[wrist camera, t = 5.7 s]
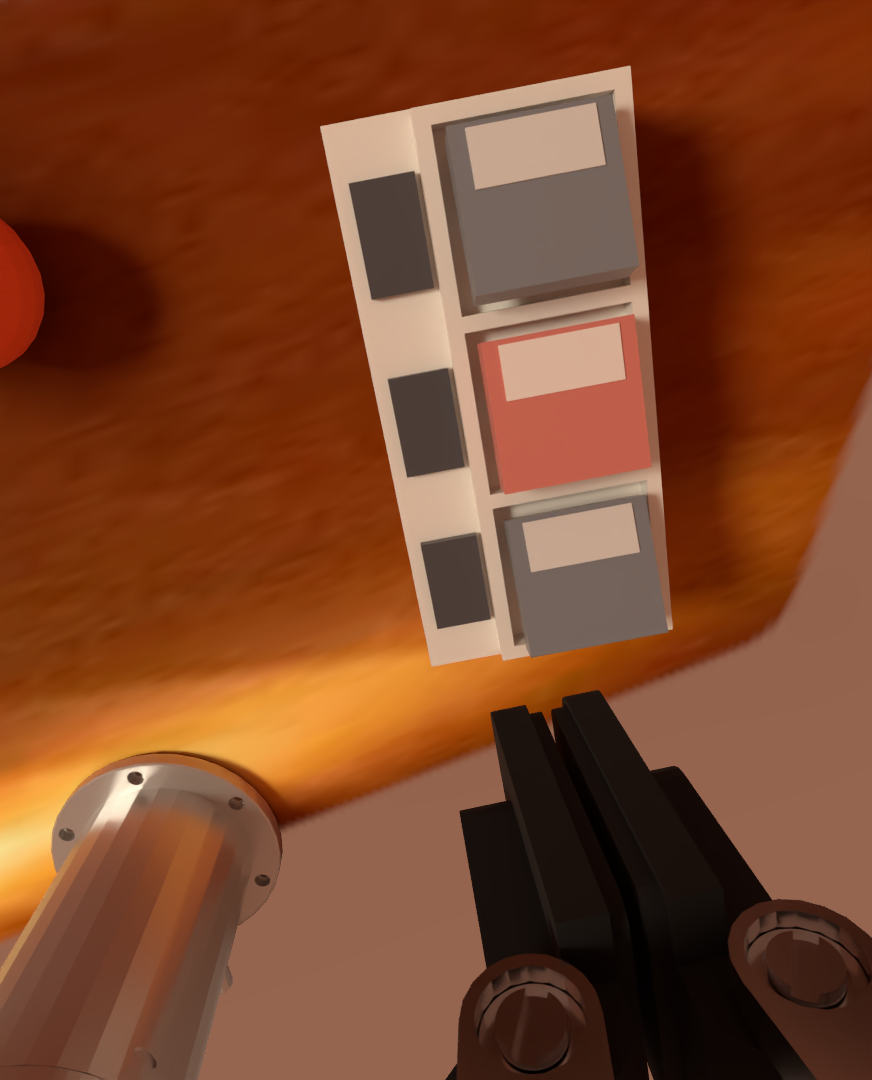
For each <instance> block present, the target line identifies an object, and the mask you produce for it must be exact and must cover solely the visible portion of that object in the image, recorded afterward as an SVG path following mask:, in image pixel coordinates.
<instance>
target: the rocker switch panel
mask: <svg viewBox="0 0 872 1080" xmlns="http://www.w3.org/2000/svg"><path fill="white" fill-rule="evenodd" d="M609 94H612V95H613V102H614V108H615V114H616V120H617V127H618V133H619V139H620V146H621V152H622V158H623V165H624V171H625V177H626V184H627V190H628V196H629V203H630V209H631V215H632V222H633V228H634V234H635V241H636V247H637V253H638V260H639V266H638V267H637V268H636V269H635V270H634V271H633V272H632V273H631V275H630V276H629V277H627V278H621V279H616V280H611V281H606V282H600V283H595V284H590V285H585V286H580V287H574V288H569V289H564V290H559V291H553V292H548V293H543V294H538V295H532V296H527V297H522V298H517V299H511V300H506V301H501V302H496V303H490V304H485V305H480V306H475V307H474V305H473V300H472V294H471V288H470V283H469V277H468V272H467V266H466V260H465V255H464V249H463V244H462V238H461V232H460V227H459V221H458V216H457V210H456V204H455V199H454V193H453V188H452V182H451V176H450V171H449V165H448V160H447V154H446V148H445V136H446V126H449V125H454V124H459V123H465V122H470V121H475V120H480V119H485V118H490V117H496V116H501V115H506V114H511V113H516V112H521V111H527V110H532V109H537V108H542V107H547V106H552V105H558V104H563V103H568V102H573V101H578V100H583V99H589V98H594V97H599V96H604V95H609ZM320 128H321V133H322V138H323V143H324V147H325V152H326V157H327V162H328V167H329V172H330V176H331V181H332V186H333V191H334V196H335V201H336V206H337V210H338V215H339V220H340V225H341V230H342V235H343V239H344V244H345V249H346V254H347V259H348V264H349V268H350V273H351V278H352V283H353V288H354V293H355V298H356V302H357V307H358V312H359V317H360V322H361V327H362V331H363V336H364V341H365V346H366V351H367V356H368V360H369V365H370V370H371V375H372V380H373V385H374V390H375V394H376V399H377V404H378V409H379V414H380V419H381V423H382V428H383V433H384V438H385V443H386V448H387V452H388V457H389V462H390V467H391V472H392V477H393V482H394V486H395V491H396V496H397V501H398V506H399V511H400V515H401V520H402V525H403V530H404V535H405V540H406V544H407V549H408V554H409V559H410V564H411V569H412V574H413V578H414V583H415V588H416V593H417V598H418V603H419V607H420V612H421V617H422V622H423V627H424V632H425V636H426V641H427V646H428V651H429V656H430V661H431V666H438V665H443V664H448V663H454V662H459V661H465V660H470V659H475V658H481V657H486V656H492V655H497V654H501V655H502V659H503V661H504V660H509V659H515V658H520V657H526V656H530V655H529V653H528V651H527V648H526V643H525V637H524V632H523V626H522V621H521V615H520V610H519V604H518V599H517V593H516V588H515V582H514V577H513V571H512V566H511V560H510V555H509V550H508V544H507V539H506V533H505V528H504V522H503V520H506V519H511V518H516V517H522V516H527V515H532V514H538V513H543V512H548V511H554V510H559V509H564V508H570V507H575V506H580V505H586V504H591V503H596V502H602V501H607V500H612V499H618V498H623V497H628V496H634V495H645V497H646V503H647V509H648V515H649V521H650V527H651V533H652V538H653V544H654V550H655V556H656V562H657V568H658V574H659V579H660V585H661V591H662V597H663V603H664V609H665V615H666V621H667V626H668V630H671V629H673V627H672V614H671V600H670V587H669V574H668V560H667V547H666V534H665V520H664V507H663V494H662V480H661V467H660V454H659V440H658V427H657V414H656V400H655V387H654V374H653V360H652V347H651V334H650V320H649V307H648V294H647V280H646V267H645V254H644V240H643V227H642V214H641V200H640V187H639V174H638V160H637V147H636V134H635V120H634V107H633V94H632V80H631V67H630V66H627V67H621V68H616V69H611V70H606V71H601V72H596V73H590V74H585V75H580V76H575V77H570V78H565V79H560V80H554V81H549V82H544V83H539V84H534V85H529V86H523V87H518V88H513V89H508V90H503V91H498V92H493V93H487V94H482V95H477V96H472V97H467V98H462V99H456V100H451V101H446V102H441V103H436V104H431V105H426V106H420V107H415V108H411V109H408V110H403V111H398V112H393V113H388V114H382V115H377V116H372V117H367V118H362V119H357V120H351V121H346V122H341V123H336V124H331V125H326V126H321V127H320ZM631 314H635V323H636V332H637V341H638V350H639V359H640V368H641V377H642V386H643V395H644V404H645V413H646V422H647V431H648V440H649V449H650V457H651V466H652V467H650V468H645V469H639V470H634V471H629V472H623V473H618V474H613V475H607V476H602V477H597V478H591V479H586V480H581V481H575V482H570V483H565V484H559V485H554V486H549V487H543V488H538V489H533V490H527V491H522V492H517V493H512V494H506V495H505V494H504V492H503V491H502V490H501V488H500V481H499V475H498V469H497V463H496V457H495V451H494V445H493V439H492V433H491V427H490V421H489V415H488V408H487V402H486V396H485V390H484V384H483V378H482V372H481V366H480V360H479V354H478V348H477V345H478V344H480V343H484V342H489V341H495V340H500V339H505V338H510V337H516V336H521V335H526V334H531V333H537V332H542V331H547V330H552V329H558V328H563V327H568V326H573V325H579V324H584V323H589V322H594V321H600V320H605V319H610V318H615V317H621V316H626V315H631Z"/></svg>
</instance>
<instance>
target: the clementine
mask: <svg viewBox="0 0 872 1080" xmlns="http://www.w3.org/2000/svg"><path fill="white" fill-rule="evenodd" d="M44 301H45V293H44V288H43V283H42V278H41V274H40V272H39V270H38V268H37V265H36V263H35V261H34V259H33V257H32V255H31V253H30V251H29V250H28V248H27V247H26V246H25V244H24V243H23V242H22V240H21V239H20V238H19V236H18V235H17V234H16V233H15V231H14V230H13V229H12V228H11V227H10V226H8V225H7V224H6V223H5V222H4V221H3V220H1V219H0V368H2V367H4V366H6V365H8V364H9V363H11V362H12V361H14V360H15V359H16V358H18V357H19V356H21V355H22V354H23V353H24V352H25V351H26V350H27V348H28V347H29V346H30V344H31V343H32V342H33V340H34V339H35V338H36V335H37V332H38V329H39V327H40V324H41V321H42V318H43V315H44Z"/></svg>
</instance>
